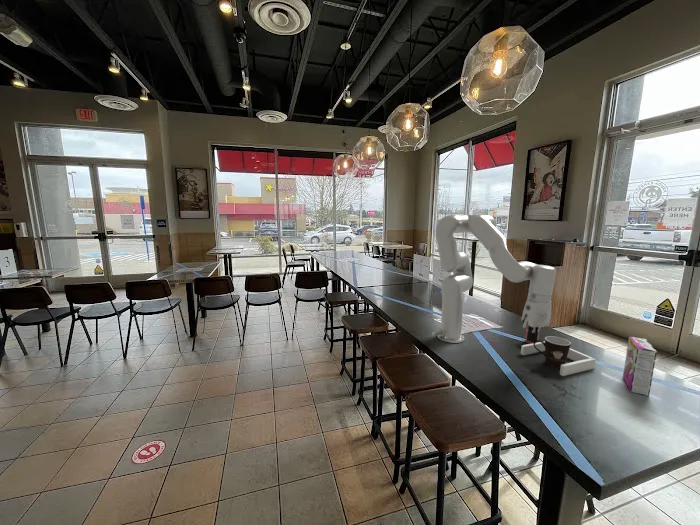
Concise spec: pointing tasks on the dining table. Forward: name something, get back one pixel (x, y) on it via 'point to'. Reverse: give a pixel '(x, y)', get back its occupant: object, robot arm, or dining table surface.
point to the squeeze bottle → (528, 340)
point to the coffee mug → (555, 350)
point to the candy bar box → (639, 365)
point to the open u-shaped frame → (581, 359)
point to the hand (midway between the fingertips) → (531, 340)
